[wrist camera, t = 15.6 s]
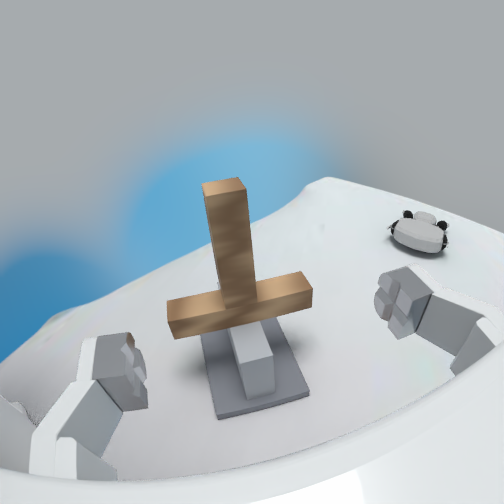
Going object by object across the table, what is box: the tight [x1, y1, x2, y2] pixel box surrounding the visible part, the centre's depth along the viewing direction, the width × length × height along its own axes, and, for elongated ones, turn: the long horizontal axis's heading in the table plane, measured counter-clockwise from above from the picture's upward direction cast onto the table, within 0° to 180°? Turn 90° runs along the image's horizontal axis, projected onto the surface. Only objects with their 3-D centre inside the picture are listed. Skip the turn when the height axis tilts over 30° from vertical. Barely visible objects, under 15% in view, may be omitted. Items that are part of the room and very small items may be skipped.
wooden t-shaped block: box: [167, 177, 313, 339], centre depth 26 cm, size 14×3×14 cm, turn 104°
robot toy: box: [387, 210, 449, 253], centre depth 52 cm, size 12×4×15 cm
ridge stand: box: [200, 282, 310, 420], centre depth 32 cm, size 10×14×8 cm
